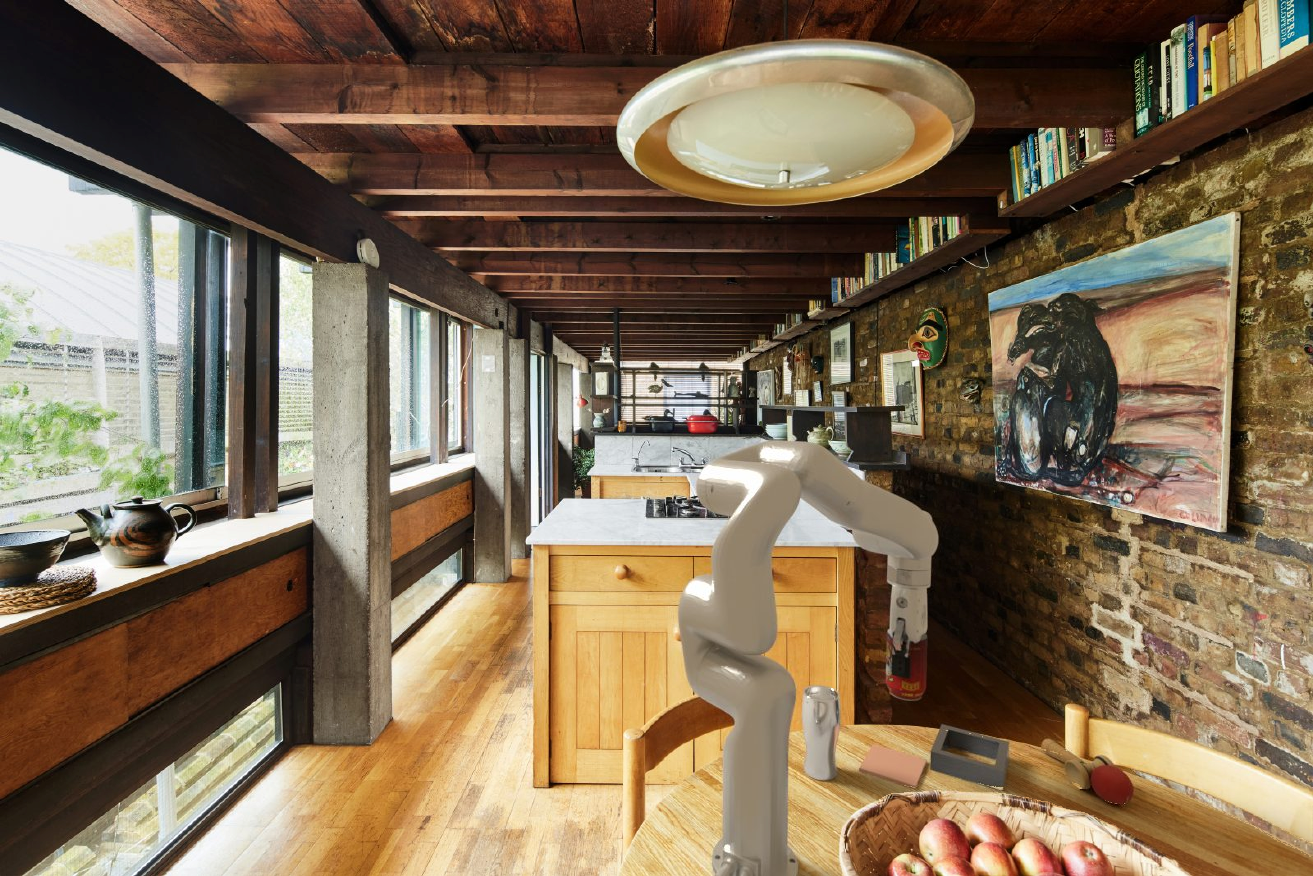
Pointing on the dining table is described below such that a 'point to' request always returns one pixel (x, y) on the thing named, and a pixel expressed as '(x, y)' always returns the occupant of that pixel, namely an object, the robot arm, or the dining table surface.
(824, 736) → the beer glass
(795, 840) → the dining table surface
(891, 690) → the soda can
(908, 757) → the tile
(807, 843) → the dining table surface
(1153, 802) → the dining table surface
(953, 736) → the collar
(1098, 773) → the kendama
